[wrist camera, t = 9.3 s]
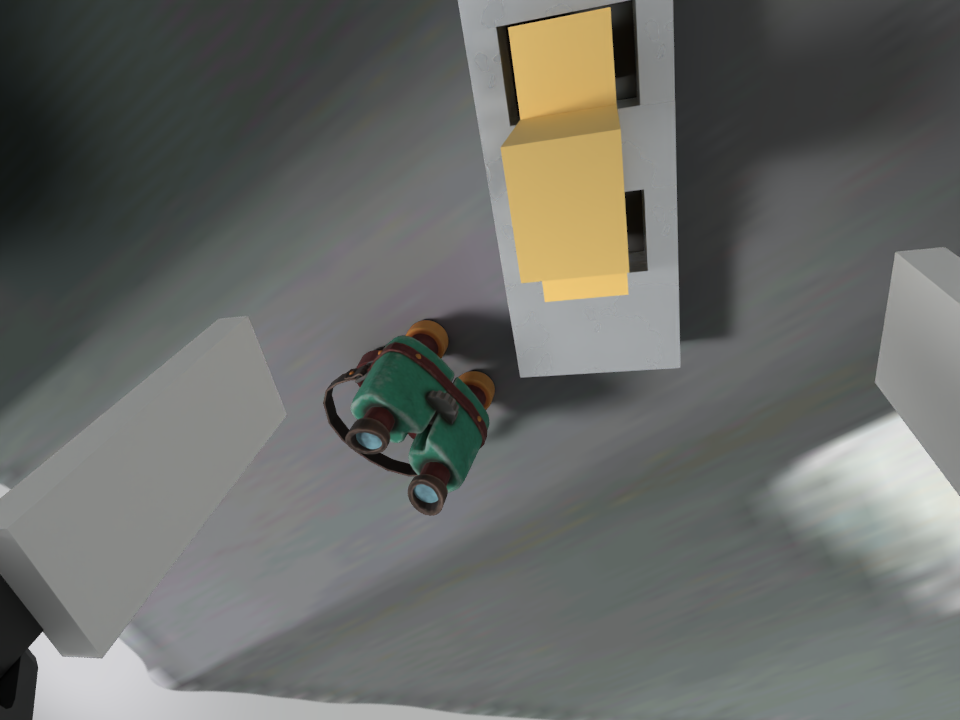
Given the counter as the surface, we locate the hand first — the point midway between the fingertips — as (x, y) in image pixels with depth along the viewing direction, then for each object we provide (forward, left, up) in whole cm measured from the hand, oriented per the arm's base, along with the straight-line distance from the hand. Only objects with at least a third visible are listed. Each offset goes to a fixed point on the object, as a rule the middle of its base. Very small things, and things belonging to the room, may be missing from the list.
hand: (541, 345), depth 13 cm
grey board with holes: (0, 0, -22) cm, 22 cm away
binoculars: (-12, -14, -22) cm, 29 cm away
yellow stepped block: (0, 0, -22) cm, 22 cm away
